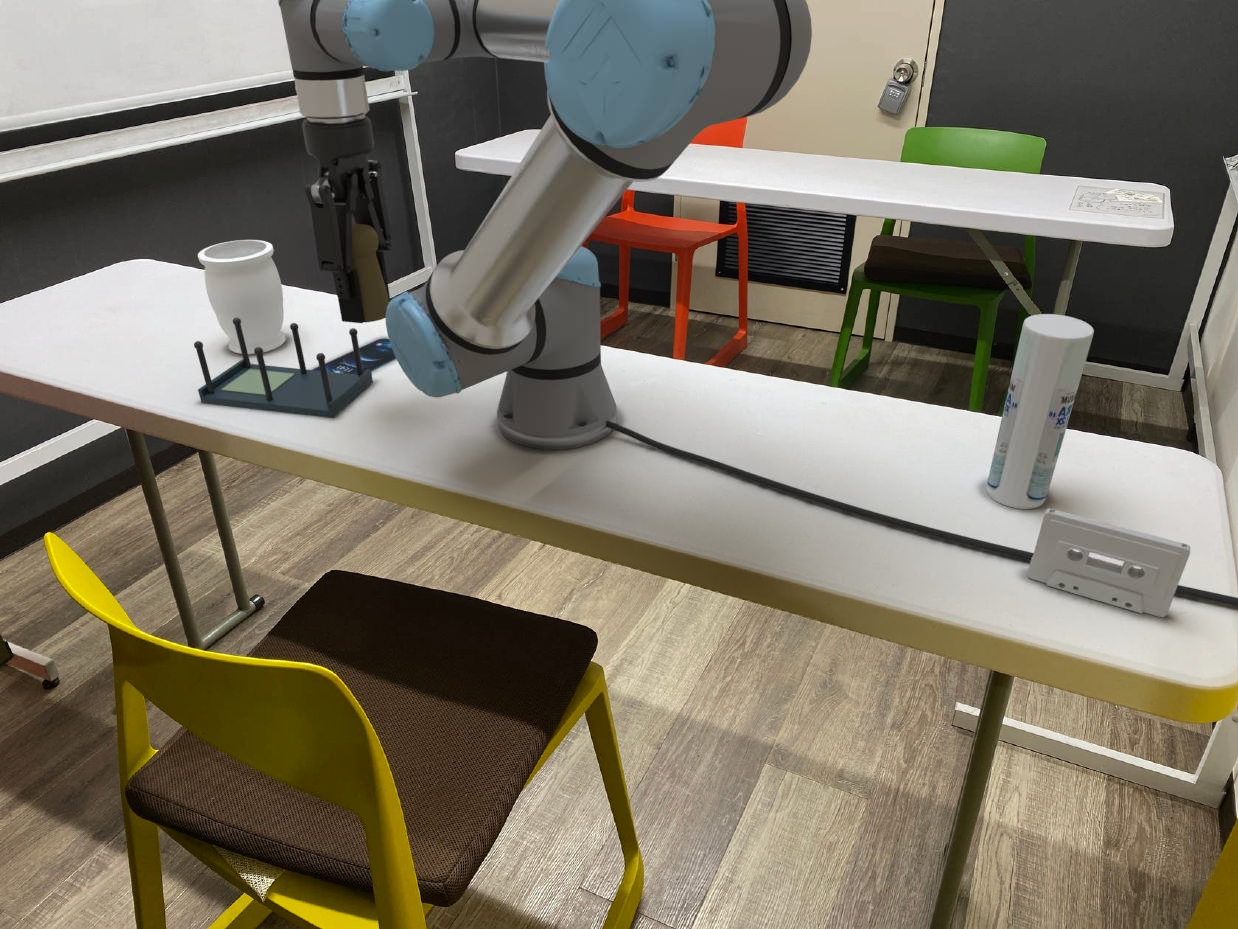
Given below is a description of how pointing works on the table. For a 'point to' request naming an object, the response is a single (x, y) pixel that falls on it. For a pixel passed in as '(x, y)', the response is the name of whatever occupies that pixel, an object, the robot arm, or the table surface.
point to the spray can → (1038, 408)
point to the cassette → (1102, 578)
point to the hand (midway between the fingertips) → (366, 310)
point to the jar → (245, 292)
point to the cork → (369, 272)
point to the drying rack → (283, 382)
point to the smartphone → (363, 358)
